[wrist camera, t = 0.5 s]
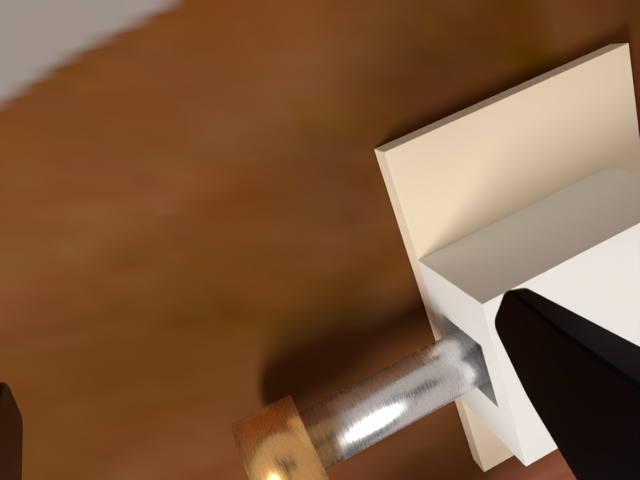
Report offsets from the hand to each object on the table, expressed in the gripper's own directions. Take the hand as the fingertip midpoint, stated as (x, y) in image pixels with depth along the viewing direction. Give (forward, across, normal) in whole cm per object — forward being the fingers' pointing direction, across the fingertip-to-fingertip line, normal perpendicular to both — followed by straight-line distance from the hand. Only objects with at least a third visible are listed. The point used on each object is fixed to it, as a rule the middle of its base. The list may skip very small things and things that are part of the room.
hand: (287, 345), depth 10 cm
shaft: (+7, -7, +11) cm, 15 cm away
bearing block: (+9, -15, +9) cm, 20 cm away
